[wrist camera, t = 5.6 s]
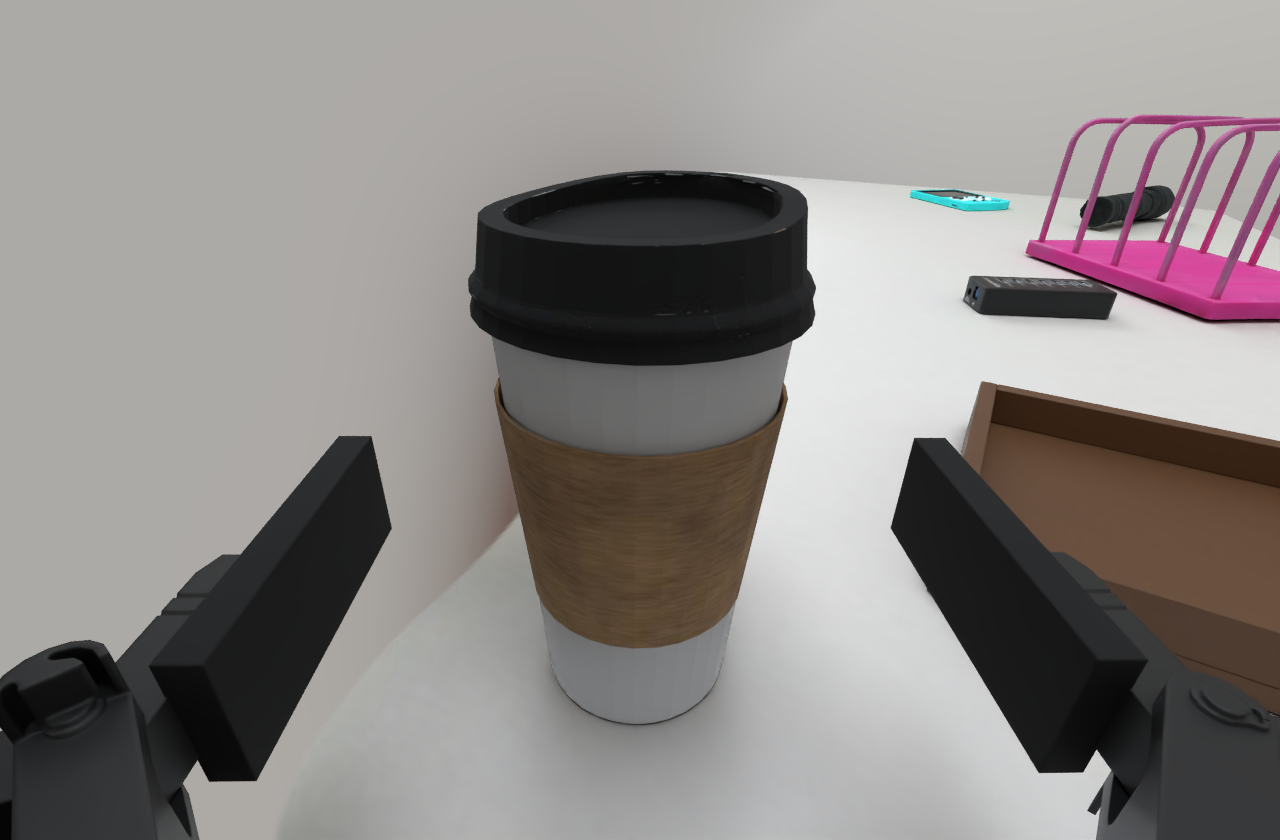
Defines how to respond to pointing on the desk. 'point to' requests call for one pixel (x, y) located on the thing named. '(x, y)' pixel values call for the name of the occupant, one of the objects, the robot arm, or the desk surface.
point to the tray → (1150, 519)
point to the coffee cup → (641, 411)
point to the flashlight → (1116, 206)
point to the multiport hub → (1039, 297)
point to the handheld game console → (961, 199)
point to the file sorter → (1177, 233)
